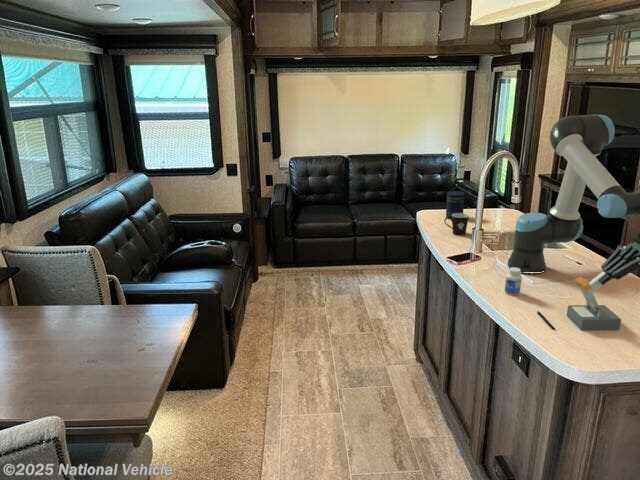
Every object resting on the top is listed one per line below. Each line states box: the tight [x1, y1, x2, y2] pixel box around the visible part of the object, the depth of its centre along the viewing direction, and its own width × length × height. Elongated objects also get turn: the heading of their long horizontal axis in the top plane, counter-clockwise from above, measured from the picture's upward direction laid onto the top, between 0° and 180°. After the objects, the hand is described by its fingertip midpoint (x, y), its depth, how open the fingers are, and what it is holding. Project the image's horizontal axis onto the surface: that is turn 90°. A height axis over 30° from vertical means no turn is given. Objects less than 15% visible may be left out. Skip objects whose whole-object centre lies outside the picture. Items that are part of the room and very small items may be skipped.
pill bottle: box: [504, 267, 523, 296], centre depth 177 cm, size 6×5×10 cm
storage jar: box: [445, 190, 465, 219], centre depth 275 cm, size 10×10×15 cm
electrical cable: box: [536, 310, 556, 331], centre depth 158 cm, size 12×1×1 cm, turn 179°
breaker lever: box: [574, 276, 601, 314], centre depth 152 cm, size 2×6×12 cm, turn 177°
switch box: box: [566, 302, 622, 332], centre depth 154 cm, size 12×10×6 cm
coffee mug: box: [444, 212, 470, 236], centre depth 248 cm, size 12×9×10 cm
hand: (590, 288), depth 151 cm, fingers closed
